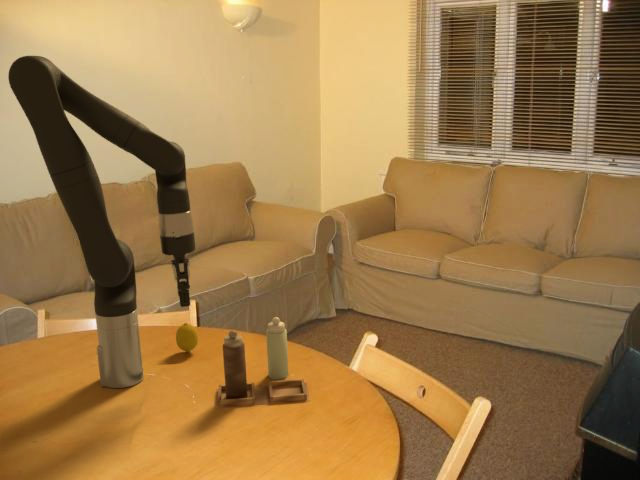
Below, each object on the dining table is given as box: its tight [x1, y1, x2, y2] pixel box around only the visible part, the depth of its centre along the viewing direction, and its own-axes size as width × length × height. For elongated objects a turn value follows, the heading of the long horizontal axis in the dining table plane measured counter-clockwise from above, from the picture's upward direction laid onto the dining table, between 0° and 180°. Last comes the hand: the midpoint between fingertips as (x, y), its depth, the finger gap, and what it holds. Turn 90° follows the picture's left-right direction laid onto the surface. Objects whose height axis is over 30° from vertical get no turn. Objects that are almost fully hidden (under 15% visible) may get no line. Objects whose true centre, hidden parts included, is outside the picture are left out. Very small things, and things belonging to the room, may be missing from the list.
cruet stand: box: [214, 378, 311, 409], centre depth 157 cm, size 20×9×2 cm, turn 96°
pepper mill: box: [222, 329, 248, 399], centre depth 155 cm, size 5×5×15 cm
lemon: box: [175, 322, 199, 353], centre depth 183 cm, size 6×6×8 cm
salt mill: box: [265, 316, 289, 381], centre depth 165 cm, size 5×5×15 cm
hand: (184, 301), depth 166 cm, fingers open, 8 cm apart
